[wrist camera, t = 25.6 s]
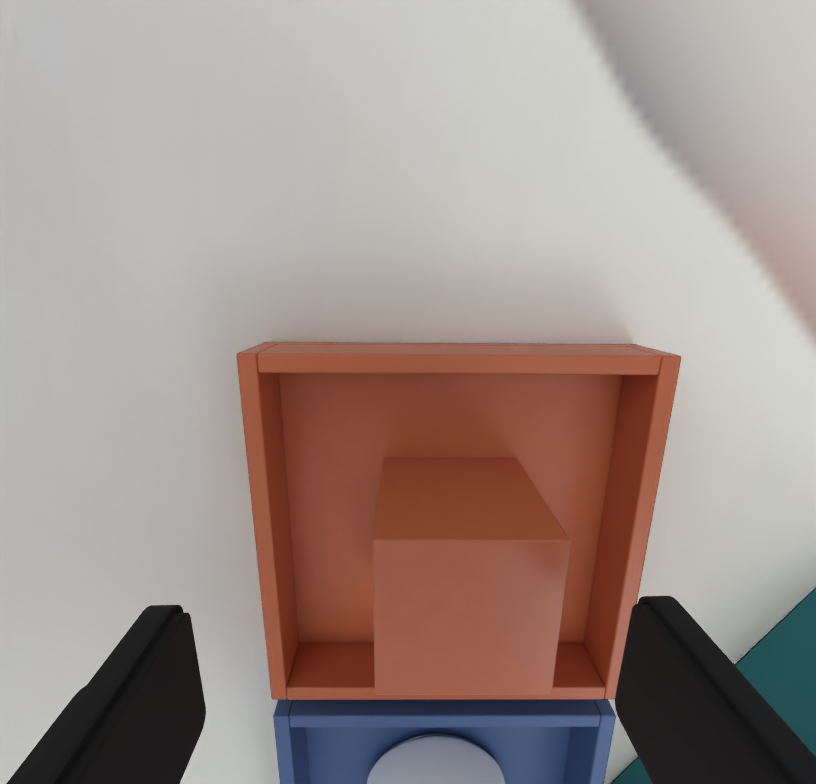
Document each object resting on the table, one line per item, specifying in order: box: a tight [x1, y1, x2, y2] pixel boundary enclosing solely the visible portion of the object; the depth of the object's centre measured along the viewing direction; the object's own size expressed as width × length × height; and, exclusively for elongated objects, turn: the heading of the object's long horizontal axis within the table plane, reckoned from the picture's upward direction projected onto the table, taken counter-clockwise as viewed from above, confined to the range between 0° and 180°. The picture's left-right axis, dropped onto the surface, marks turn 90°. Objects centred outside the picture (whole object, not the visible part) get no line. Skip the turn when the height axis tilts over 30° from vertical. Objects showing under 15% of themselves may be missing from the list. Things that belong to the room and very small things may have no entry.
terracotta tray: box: [237, 342, 681, 700], centre depth 15 cm, size 13×13×2 cm
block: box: [372, 458, 571, 695], centre depth 13 cm, size 5×5×5 cm
